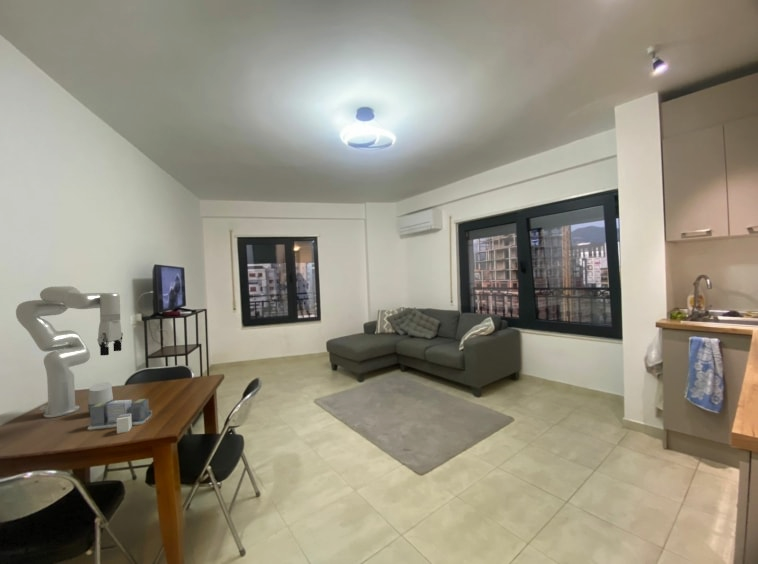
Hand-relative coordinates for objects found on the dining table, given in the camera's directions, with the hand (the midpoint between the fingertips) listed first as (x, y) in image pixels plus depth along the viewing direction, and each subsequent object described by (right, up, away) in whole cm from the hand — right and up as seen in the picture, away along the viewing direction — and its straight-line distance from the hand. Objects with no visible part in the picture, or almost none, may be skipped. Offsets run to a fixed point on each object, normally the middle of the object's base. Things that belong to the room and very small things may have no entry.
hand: (111, 352), depth 153 cm
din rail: (+13, -30, -10) cm, 34 cm away
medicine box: (+13, -29, -10) cm, 33 cm away
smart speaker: (-8, -31, +3) cm, 32 cm away
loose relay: (+21, -30, -17) cm, 40 cm away
